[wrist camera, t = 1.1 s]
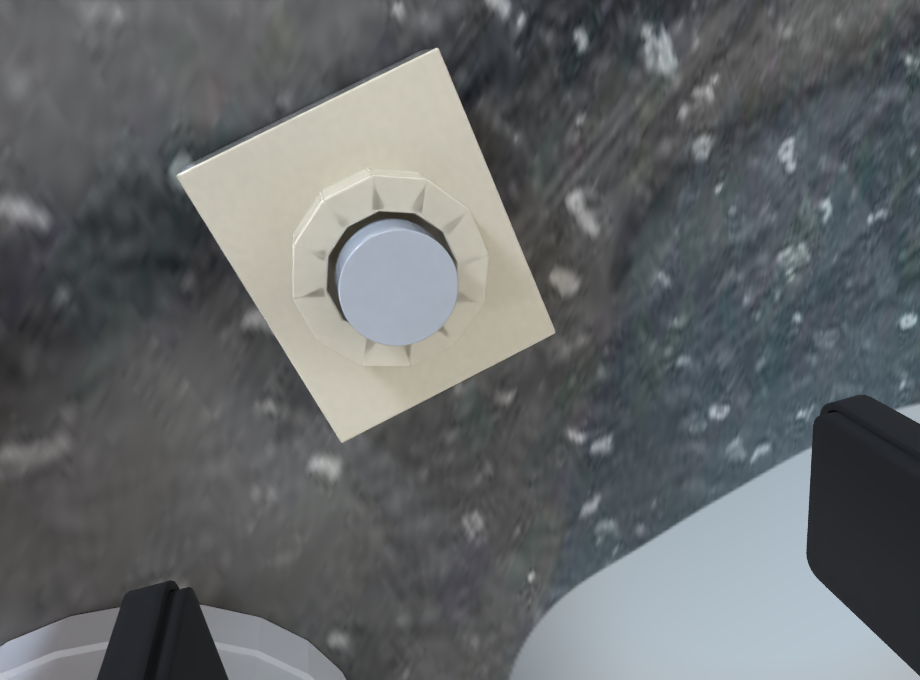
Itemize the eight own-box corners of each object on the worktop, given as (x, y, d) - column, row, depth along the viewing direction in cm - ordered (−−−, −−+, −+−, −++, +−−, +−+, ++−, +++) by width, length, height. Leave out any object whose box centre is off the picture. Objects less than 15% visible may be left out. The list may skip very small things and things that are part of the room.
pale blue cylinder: (313, 249, 24) (315, 264, 22) (417, 198, 24) (428, 208, 22) (366, 344, 25) (372, 366, 23) (463, 295, 25) (477, 313, 24)
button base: (187, 165, 26) (165, 183, 21) (423, 49, 26) (451, 44, 22) (337, 411, 31) (345, 469, 26) (533, 310, 31) (574, 351, 27)
